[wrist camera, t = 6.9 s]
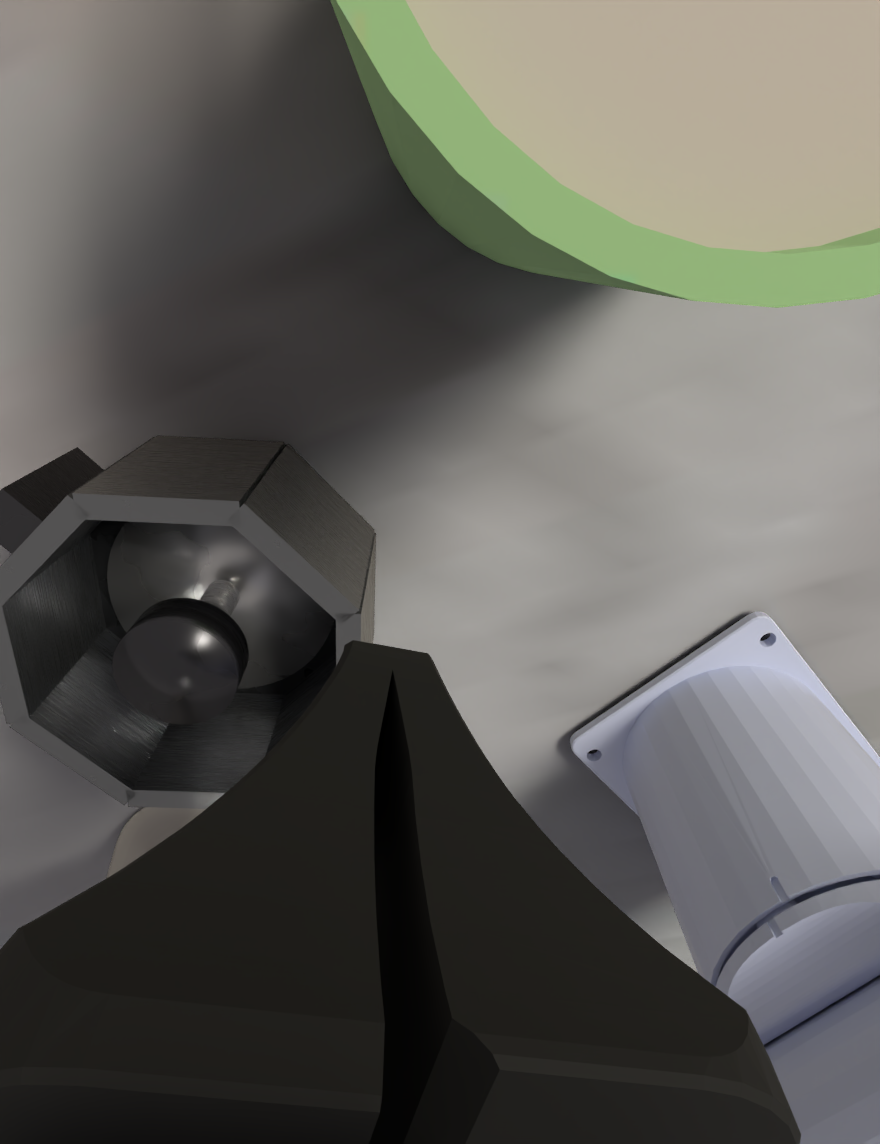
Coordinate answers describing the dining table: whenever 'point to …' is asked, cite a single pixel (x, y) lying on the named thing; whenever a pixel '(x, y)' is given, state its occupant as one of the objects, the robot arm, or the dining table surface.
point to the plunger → (203, 619)
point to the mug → (640, 137)
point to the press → (92, 630)
